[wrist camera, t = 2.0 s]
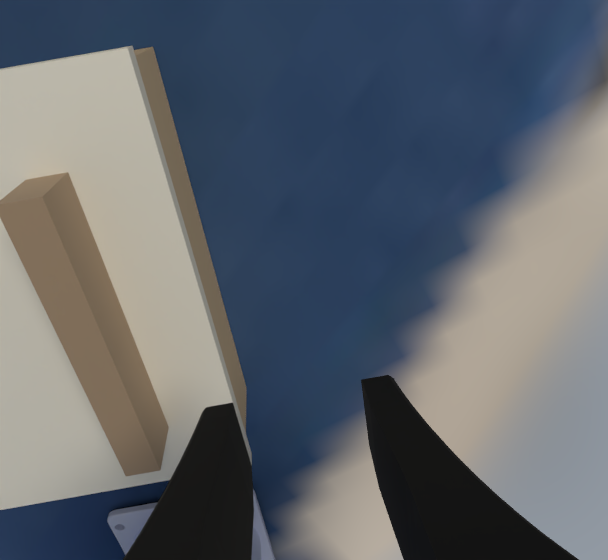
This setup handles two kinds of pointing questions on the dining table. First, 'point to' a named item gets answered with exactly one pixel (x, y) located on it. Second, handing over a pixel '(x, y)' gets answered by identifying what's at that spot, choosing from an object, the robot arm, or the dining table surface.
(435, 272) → the dining table surface
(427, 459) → the robot arm
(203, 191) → the dining table surface
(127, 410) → the mailer lid
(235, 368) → the box
